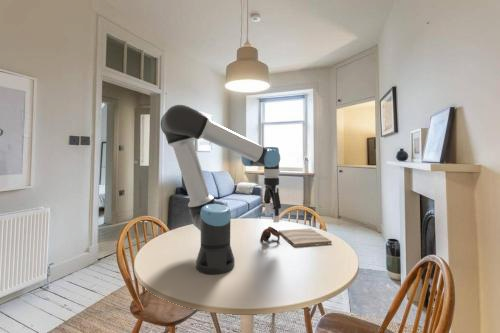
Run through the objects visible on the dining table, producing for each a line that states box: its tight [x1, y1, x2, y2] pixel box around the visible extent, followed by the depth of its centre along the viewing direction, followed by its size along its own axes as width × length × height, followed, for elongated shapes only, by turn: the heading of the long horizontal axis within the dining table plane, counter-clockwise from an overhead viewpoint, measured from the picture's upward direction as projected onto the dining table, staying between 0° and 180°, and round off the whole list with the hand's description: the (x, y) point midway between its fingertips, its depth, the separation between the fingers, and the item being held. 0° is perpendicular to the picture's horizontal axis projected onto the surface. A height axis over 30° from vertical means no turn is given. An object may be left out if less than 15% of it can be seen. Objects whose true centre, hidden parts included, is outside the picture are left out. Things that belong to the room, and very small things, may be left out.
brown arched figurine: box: [259, 226, 281, 243], centre depth 122 cm, size 12×10×8 cm
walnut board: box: [278, 228, 332, 248], centre depth 128 cm, size 22×20×2 cm
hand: (271, 218), depth 121 cm, fingers open, 13 cm apart
